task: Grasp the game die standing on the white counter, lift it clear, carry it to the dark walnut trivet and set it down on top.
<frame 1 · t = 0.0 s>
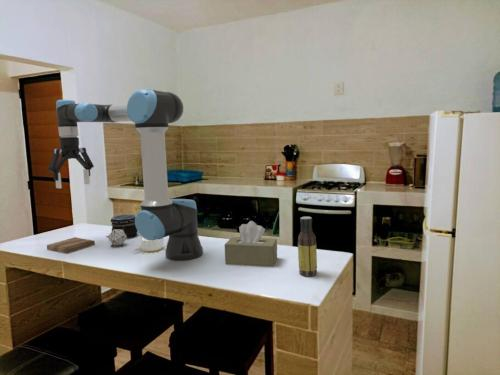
hand: (73, 186, 163), 28 cm above the counter, fingers open, 13 cm apart
container: (125, 236, 185), on the counter
game die: (118, 246, 169), on the counter
sauce bottle: (307, 274, 129), on the counter
tissue box: (251, 262, 144), on the counter
trivet: (71, 247, 169), on the counter
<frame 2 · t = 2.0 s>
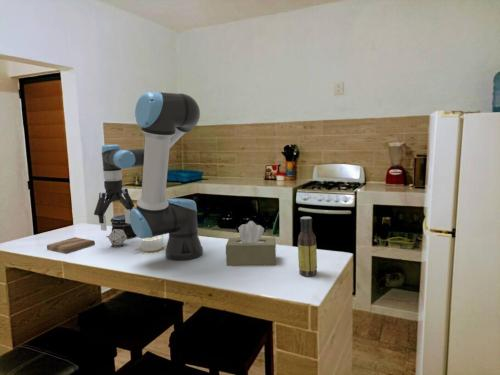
hand: (116, 226, 168), 9 cm above the counter, fingers open, 13 cm apart
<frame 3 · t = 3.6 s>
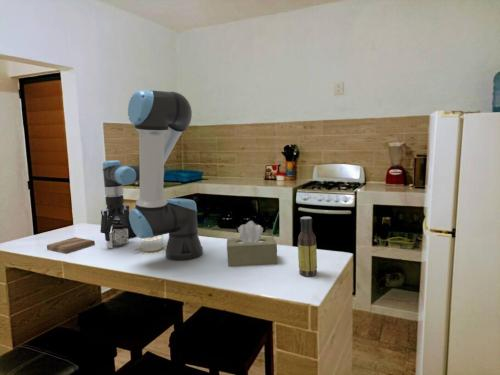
hand: (118, 244, 169), 0 cm above the counter, fingers closed on game die, 8 cm apart
game die: (118, 246, 169), on the counter, touching gripper
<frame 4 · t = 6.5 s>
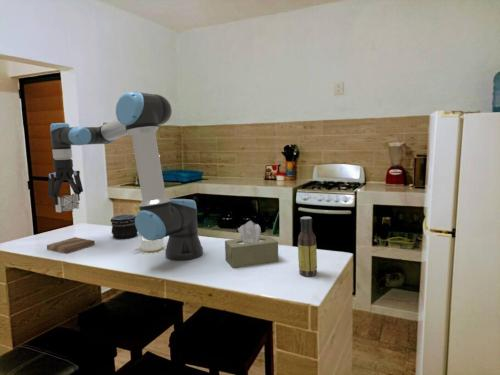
hand: (67, 210, 166), 17 cm above the counter, fingers closed on game die, 8 cm apart
game die: (68, 212, 167), point 16 cm above the counter, touching gripper
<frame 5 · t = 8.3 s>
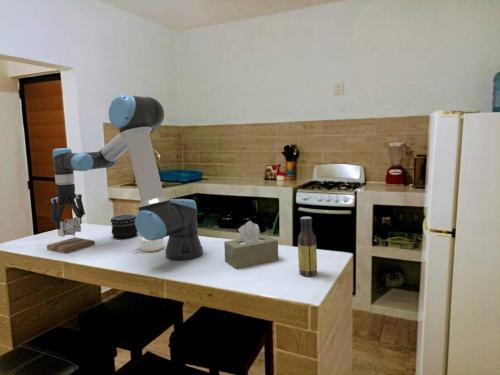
hand: (69, 233, 168), 6 cm above the counter, fingers closed on game die, 8 cm apart
game die: (70, 235, 168), point 5 cm above the counter, touching gripper
when the fingers open (4 cm above the counter, at t = 9.7 s): game die stays where it is, resting on trivet.
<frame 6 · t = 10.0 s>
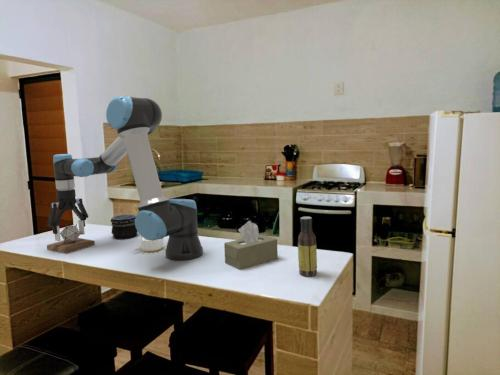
hand: (70, 237, 168), 5 cm above the counter, fingers open, 11 cm apart
game die: (71, 242, 169), point 2 cm above the counter, touching trivet
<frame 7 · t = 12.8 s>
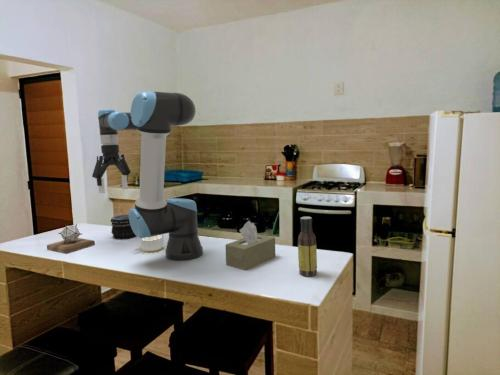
hand: (113, 191, 172), 24 cm above the counter, fingers open, 13 cm apart
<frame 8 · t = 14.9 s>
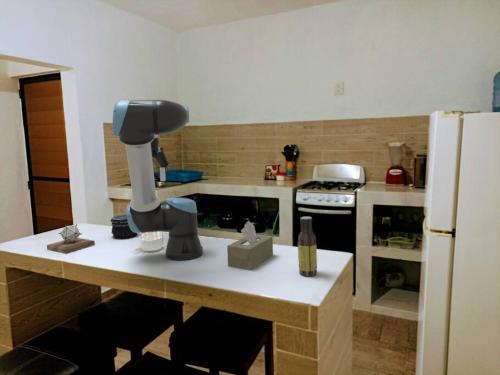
hand: (153, 182, 178), 27 cm above the counter, fingers open, 13 cm apart
at the end: game die 0.2 cm from the trivet (horizontally); game die touching trivet; the gripper is holding nothing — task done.
